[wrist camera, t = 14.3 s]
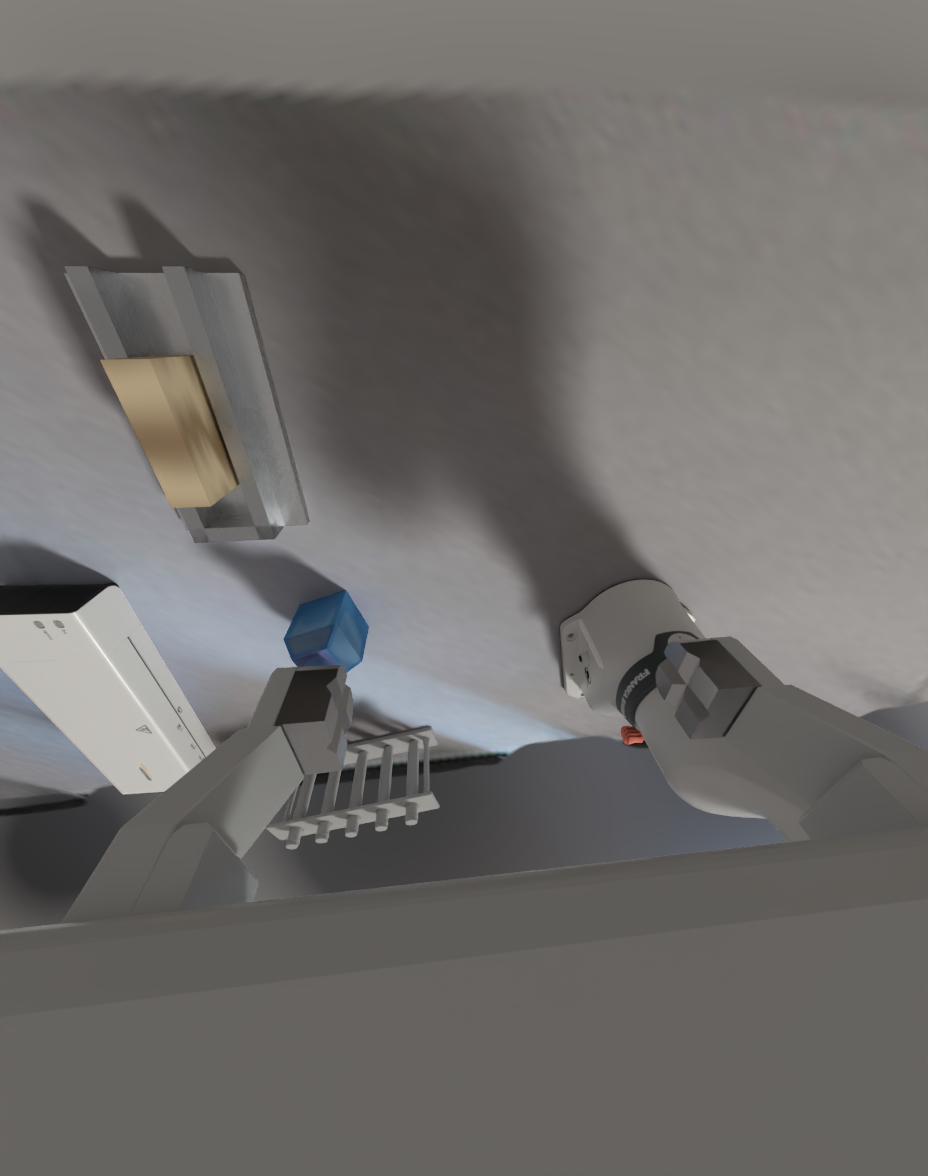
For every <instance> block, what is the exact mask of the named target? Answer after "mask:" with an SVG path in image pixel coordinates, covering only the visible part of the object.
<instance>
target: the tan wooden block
mask: <svg viewBox="0 0 928 1176" xmlns="http://www.w3.org/2000/svg"><path fill="white" fill-rule="evenodd" d="M100 361H101V363H102V365H103V367H104V369H105V372H106V374H107V376H108V378H109V380H110V382H111V384H112V386H113V388H114V390H115V392H116V394H117V396H118V398H119V400H120V402H121V405H122V407H123V409H124V411H125V413H126V415H127V417H128V419H129V421H130V423H131V425H132V427H133V429H134V431H135V433H136V436H137V438H138V440H139V442H140V444H141V446H142V448H143V450H144V452H145V454H146V456H147V458H148V460H149V462H150V464H151V466H152V469H153V471H154V473H155V475H156V477H157V479H158V481H159V483H160V485H161V487H162V489H163V491H164V493H165V495H166V497H167V500H168V502H169V504H170V506H171V508H187V507H211V506H212V505H214V504H215V503H216V502H217V501H219V500H220V499H221V498H223V497H224V496H225V495H226V494H228V493H229V492H230V491H231V490H233V489H234V488H235V487H236V486H238V485H239V484H240V483H239V480H238V478H237V475H236V472H235V469H234V466H233V464H232V461H231V458H230V455H229V453H228V450H227V447H226V444H225V441H224V439H223V436H222V433H221V430H220V428H219V425H218V422H217V419H216V416H215V414H214V411H213V408H212V405H211V402H210V400H209V397H208V394H207V391H206V389H205V386H204V383H203V380H202V377H201V375H200V372H199V369H198V366H197V364H196V361H195V358H194V355H161V356H146V357H131V358H116V359H101V360H100Z"/></svg>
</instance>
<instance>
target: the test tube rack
mask: <svg viewBox="0 0 928 1176" xmlns="http://www.w3.org/2000/svg"><path fill="white" fill-rule="evenodd" d="M435 745H438V740H437V738H436V736H435V734H434V732H433V730H432V727H426V728H422V729H417V730H412V731H408V732H403V733H398V734H394V735H389V736H385V737H380V738H375V739H371V740H366V741H361V742H357V743H352V744H347V750H346V755H345V760H344V765H346V764H350V763H355V762H356V768H355V774H354V780H353V786H352V792H351V799H350V805H349V809H345V810H340V811H335V812H333V810H334V805H335V800H336V795H337V790H338V784H339V779H340V774H341V771H334V772H330V774H329V778H328V783H327V787H326V792H325V797H324V801H323V806H322V810H321V815H316V816H311V817H306V813H307V809H308V805H309V801H310V797H311V793H312V789H313V785H314V781H315V777H316V774H309V775H305V776H304V780H303V784H302V787H301V791H300V795H299V798H298V802H297V805H296V809H295V813H294V816H293V820H292V821H288V820H289V816H290V813H291V809H292V806H293V802H294V799H295V795H296V792H297V788H298V786H297V788H296V789H295V790H294V791H293V793H292V794H291V795H290V797H289V801H288V804H287V807H286V811H285V814H284V818H283V821H282V822H281V823H277V824H273V825H267V827H266V829H268V831H270V832H271V833H272V834H273V835H275V836H276V837H277V838H278V839H280V840H284V839H287V841H286V848H288V849H296V848H297V847H298V844H299V843H300V837H301V836H304V835H309V834H314V833H316V836H315V837H316V840H315V842H317V843H325V842H327V838H329V831H330V830H334V829H339V828H344V827H346V829H345V832H346V833H345V835H346V837H355V836H356V835H357V832H358V826H359V824H363V823H368V822H373V821H376V823H375V826H376V827H375V830H377V831H384V830H386V829H387V825H388V818H393V817H397V816H402V815H406V817H405V820H406V824H407V825H414V824H416V823H417V819H418V812H422V811H427V810H431V809H437V808H439V804H438V802H437V801H436V799H435V797H434V795H433V793H432V792H429V747H430V746H435ZM421 748H424V793H423V794H418V760H419V749H421ZM407 751H408V766H407V793H406V797H403V798H398V799H393V800H390V787H391V774H392V760H393V754H397V753H402V752H407ZM379 757H382V763H381V773H380V783H379V794H378V802H377V803H374V804H370V805H364V806H361V804H362V797H363V789H364V782H365V774H366V767H367V760H369V759H374V758H379ZM376 810H377V811H376ZM347 816H348V817H347ZM305 817H306V818H305Z"/></svg>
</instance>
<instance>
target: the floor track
mask: <svg viewBox="0 0 928 1176" xmlns="http://www.w3.org/2000/svg"><path fill="white" fill-rule="evenodd" d="M64 267H65V269H66V271H67V273H64V275H65V277H66V279H67V281H68V283H69V285H70V287H71V289H72V291H73V294H74V296H75V298H76V300H77V302H78V304H79V306H80V308H81V310H82V312H83V315H84V317H85V319H86V321H87V323H88V325H89V327H90V329H91V331H92V333H93V335H94V338H95V340H96V342H97V344H98V346H99V348H100V350H101V352H102V354H103V356H104V358H105V359H116V358H131V357H146V356H161V355H194V358H195V361H196V364H197V366H198V369H199V372H200V375H201V377H202V380H203V383H204V386H205V389H206V391H207V394H208V397H209V400H210V402H211V405H212V408H213V411H214V414H215V416H216V419H217V422H218V425H219V428H220V430H221V433H222V436H223V439H224V441H225V444H226V447H227V450H228V453H229V455H230V458H231V461H232V464H233V466H234V469H235V472H236V475H237V478H238V480H239V483H240V484H239V485H238V486H236V487H235V488H234V489H233V490H231V491H230V492H229V493H228V494H226V495H225V496H224V497H223V498H221V499H220V500H219V501H217V502H216V503H215V504H214V505H212V506H211V507H187V508H176V509H177V511H178V513H179V515H180V518H181V520H182V522H183V524H184V526H185V528H186V530H189V531H190V533H191V535H192V538H193V540H194V542H195V543H200V542H222V541H243V540H264V539H275V538H276V537H277V535H278V534H279V533H280V531H281V530H282V529H283V527H284V526H294V525H308V523H309V521H310V520H309V516H308V512H307V509H306V505H305V501H304V497H303V494H302V490H301V486H300V482H299V478H298V475H297V471H296V467H295V463H294V460H293V456H292V452H291V448H290V445H289V441H288V437H287V433H286V430H285V426H284V422H283V418H282V415H281V411H280V407H279V403H278V400H277V396H276V392H275V388H274V384H273V381H272V377H271V373H270V369H269V366H268V362H267V358H266V354H265V351H264V347H263V343H262V339H261V336H260V332H259V328H258V324H257V321H256V317H255V313H254V309H253V306H252V302H251V298H250V294H249V290H248V287H247V283H246V279H245V275H243V274H240V273H204V272H201V271H198V270H194V269H191V268H187V267H184V266H162V269H163V272H164V273H117V272H112V271H107V270H102V269H98V268H93V267H88V266H64Z"/></svg>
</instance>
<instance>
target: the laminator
mask: <svg viewBox="0 0 928 1176" xmlns="http://www.w3.org/2000/svg"><path fill="white" fill-rule="evenodd" d="M0 668H1V669H2V670H3V671H4V672H5V673H6V674H7V675H8V676H9V677H10V678H11V679H12V680H13V681H14V682H15V683H16V685H17V686H18V687H19V688H20V689H21V690H22V691H23V692H24V693H25V694H26V695H27V696H28V697H29V698H30V699H31V700H32V701H33V702H34V703H35V704H36V705H37V706H38V707H39V708H40V709H41V710H42V711H43V712H44V713H45V715H46V716H47V717H48V718H49V719H50V720H51V721H52V722H53V723H54V724H55V725H56V726H57V727H58V728H59V729H60V730H61V731H62V732H63V733H64V734H65V735H66V736H67V737H68V738H69V739H70V740H71V741H72V742H73V743H74V745H75V746H76V747H77V748H78V749H79V750H80V751H81V752H82V753H83V754H84V755H85V756H86V757H87V758H88V759H89V760H90V761H91V762H92V763H93V764H94V765H95V766H96V767H97V768H98V769H99V770H100V771H101V772H102V773H103V775H104V776H105V777H106V778H107V779H108V780H109V781H110V782H111V783H112V784H113V785H114V786H115V787H116V788H117V789H118V790H119V791H120V792H121V793H122V794H123V795H134V794H149V793H163V792H165V791H166V790H167V789H168V788H169V787H171V786H172V785H173V784H174V783H175V782H177V781H178V780H179V779H180V778H181V777H183V776H184V775H185V774H186V773H187V772H189V771H190V770H191V769H192V768H193V767H195V766H196V765H197V764H198V763H199V762H201V761H202V760H203V759H204V758H205V757H207V756H208V755H209V754H210V753H211V752H213V751H214V750H215V749H216V747H215V746H214V744H213V742H212V741H211V739H210V737H209V736H208V734H207V732H206V731H205V729H204V727H203V726H202V724H201V722H200V721H199V719H198V718H197V716H196V714H195V713H194V711H193V709H192V708H191V706H190V704H189V703H188V701H187V699H186V698H185V696H184V694H183V693H182V691H181V689H180V688H179V686H178V684H177V683H176V681H175V679H174V678H173V676H172V674H171V673H170V671H169V669H168V668H167V666H166V664H165V663H164V661H163V659H162V658H161V656H160V654H159V653H158V651H157V649H156V648H155V646H154V644H153V643H152V641H151V639H150V638H149V636H148V634H147V633H146V631H145V629H144V628H143V626H142V624H141V623H140V621H139V620H138V618H137V616H136V615H135V613H134V611H133V610H132V608H131V606H130V605H129V603H128V601H127V600H126V598H125V596H124V595H123V593H122V591H121V590H120V588H119V586H118V585H117V584H115V583H110V584H104V585H61V586H60V585H58V586H0Z"/></svg>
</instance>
